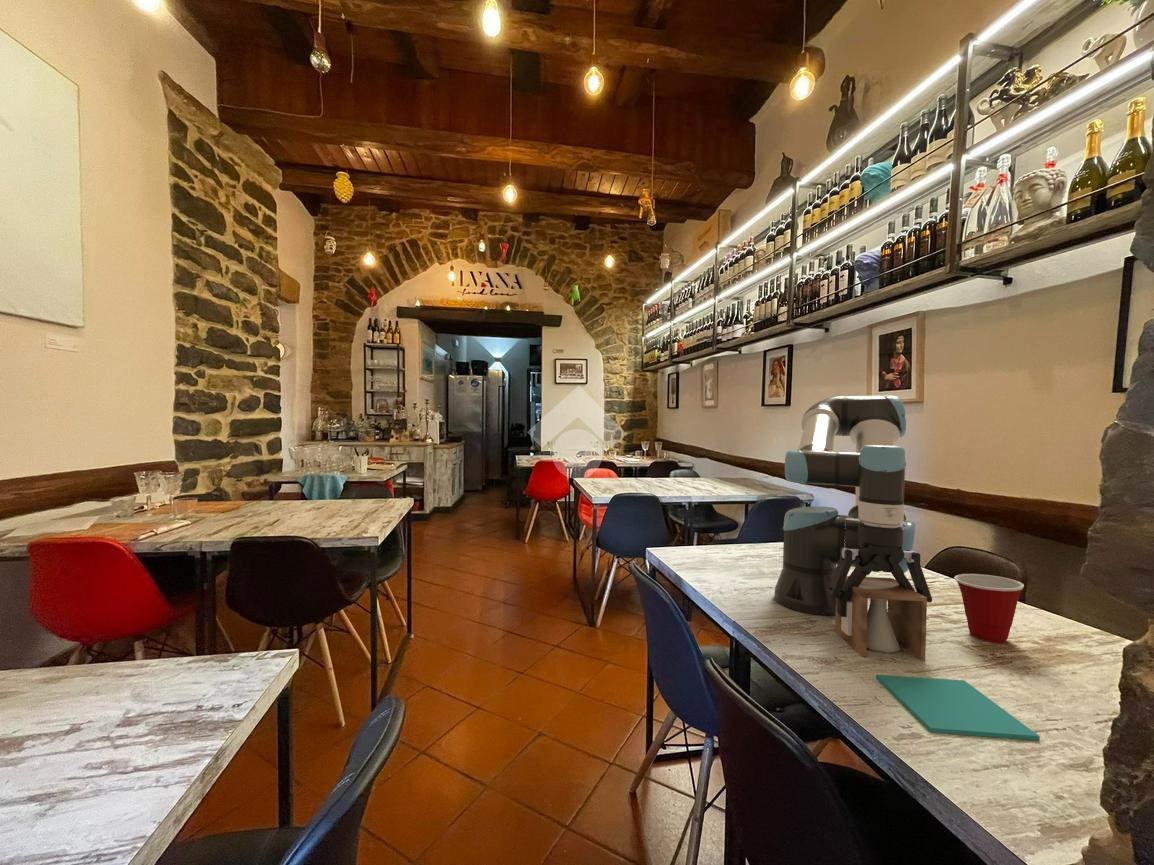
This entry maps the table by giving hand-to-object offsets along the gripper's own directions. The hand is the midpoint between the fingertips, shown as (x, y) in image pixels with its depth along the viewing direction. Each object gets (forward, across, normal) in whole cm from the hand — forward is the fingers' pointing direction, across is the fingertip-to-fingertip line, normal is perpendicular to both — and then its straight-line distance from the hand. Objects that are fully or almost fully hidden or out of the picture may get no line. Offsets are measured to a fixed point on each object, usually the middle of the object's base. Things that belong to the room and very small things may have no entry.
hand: (877, 634), depth 91 cm
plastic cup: (+2, +25, +7) cm, 26 cm away
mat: (+2, 0, -20) cm, 20 cm away
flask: (+2, 0, 0) cm, 2 cm away
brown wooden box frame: (+2, 0, 0) cm, 2 cm away
